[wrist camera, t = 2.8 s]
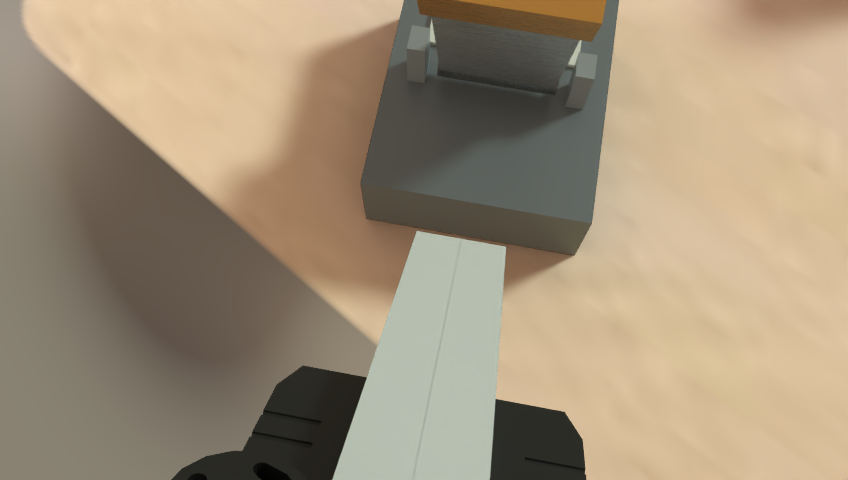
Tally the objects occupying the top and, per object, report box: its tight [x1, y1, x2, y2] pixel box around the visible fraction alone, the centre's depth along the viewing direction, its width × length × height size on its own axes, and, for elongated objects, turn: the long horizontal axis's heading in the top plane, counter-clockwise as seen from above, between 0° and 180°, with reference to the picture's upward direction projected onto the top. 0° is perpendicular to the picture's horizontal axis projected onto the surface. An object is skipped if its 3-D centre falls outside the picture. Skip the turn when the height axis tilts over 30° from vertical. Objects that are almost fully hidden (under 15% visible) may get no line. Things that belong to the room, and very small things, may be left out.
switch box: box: [361, 0, 619, 255], centre depth 37 cm, size 12×10×6 cm
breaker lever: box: [417, 0, 606, 96], centre depth 29 cm, size 2×6×12 cm, turn 80°
